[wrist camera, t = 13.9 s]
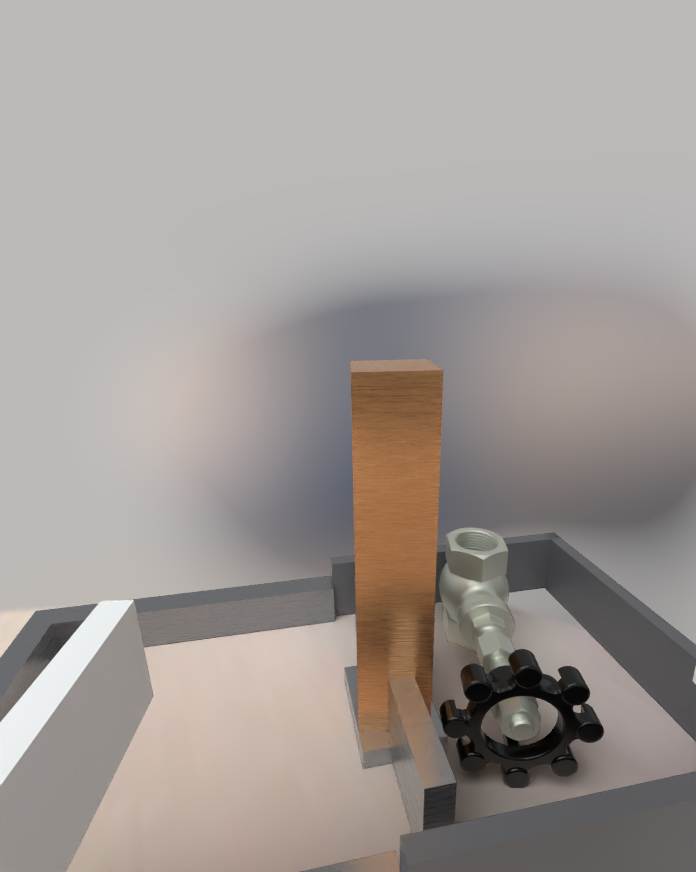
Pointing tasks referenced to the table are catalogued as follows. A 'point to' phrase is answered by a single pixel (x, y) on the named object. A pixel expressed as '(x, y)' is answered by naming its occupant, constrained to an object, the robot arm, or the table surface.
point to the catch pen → (596, 813)
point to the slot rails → (178, 623)
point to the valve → (504, 670)
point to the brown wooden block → (398, 581)
